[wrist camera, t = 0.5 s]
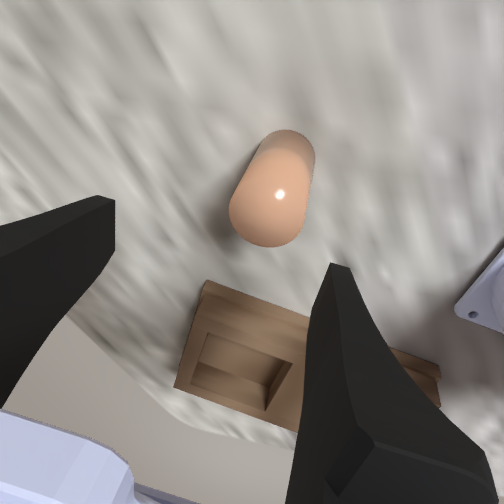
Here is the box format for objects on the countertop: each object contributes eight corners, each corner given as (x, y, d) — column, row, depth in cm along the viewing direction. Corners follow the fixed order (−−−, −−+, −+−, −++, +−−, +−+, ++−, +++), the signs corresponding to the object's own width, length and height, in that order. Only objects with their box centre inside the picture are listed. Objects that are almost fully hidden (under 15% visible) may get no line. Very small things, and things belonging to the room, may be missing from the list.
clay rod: (324, 142, 20) (316, 196, 15) (302, 194, 22) (288, 257, 17) (267, 120, 20) (240, 167, 15) (249, 174, 22) (220, 231, 17)
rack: (438, 365, 26) (447, 405, 24) (380, 428, 31) (382, 466, 29) (207, 279, 26) (192, 310, 24) (183, 355, 31) (169, 387, 29)
